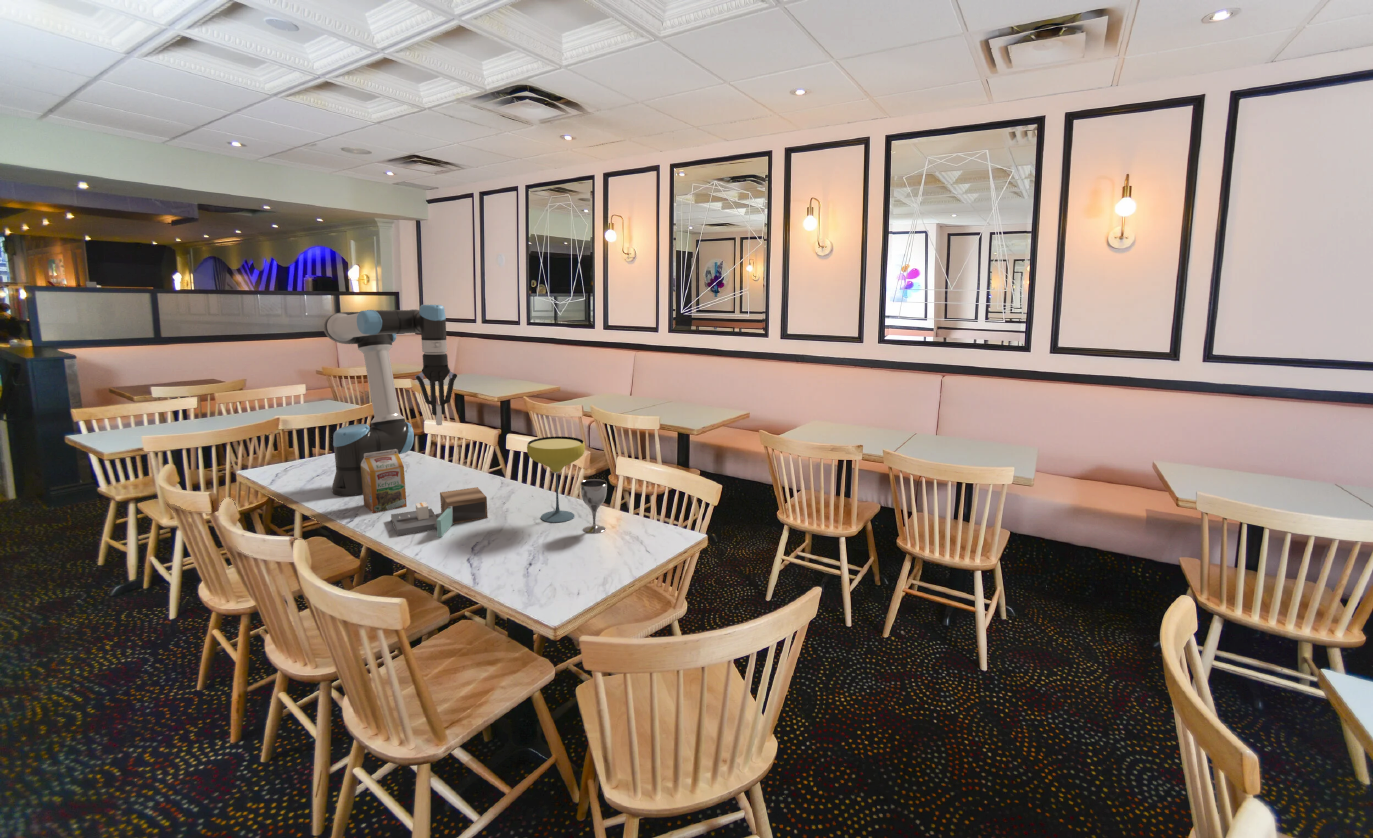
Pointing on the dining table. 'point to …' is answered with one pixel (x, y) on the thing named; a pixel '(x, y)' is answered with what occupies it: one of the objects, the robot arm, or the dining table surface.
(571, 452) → the cocktail glass
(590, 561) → the dining table surface
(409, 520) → the mixer strip
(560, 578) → the dining table surface
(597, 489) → the wine glass
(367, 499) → the milk carton
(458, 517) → the box
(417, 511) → the fader knob
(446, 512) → the rack door
